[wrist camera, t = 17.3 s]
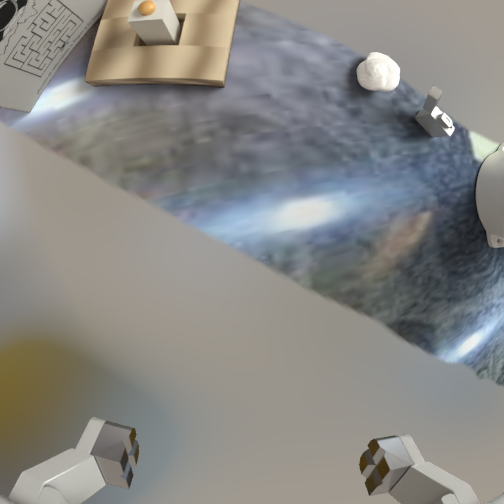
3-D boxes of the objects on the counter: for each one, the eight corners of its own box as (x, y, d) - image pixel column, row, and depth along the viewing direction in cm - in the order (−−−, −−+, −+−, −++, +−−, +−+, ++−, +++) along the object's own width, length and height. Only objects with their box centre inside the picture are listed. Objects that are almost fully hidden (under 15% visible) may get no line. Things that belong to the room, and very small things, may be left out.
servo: (181, 27, 30) (166, -5, 22) (176, 45, 31) (160, 16, 22) (152, 27, 30) (132, -3, 21) (147, 46, 30) (125, 18, 22)
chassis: (240, 0, 30) (240, -11, 27) (224, 87, 33) (222, 80, 30) (117, 3, 28) (110, -5, 26) (94, 86, 32) (84, 81, 29)
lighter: (437, 130, 35) (471, 126, 27) (432, 138, 35) (467, 135, 28) (405, 95, 34) (436, 83, 26) (399, 103, 34) (430, 92, 26)
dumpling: (379, 105, 34) (392, 99, 30) (347, 84, 33) (357, 76, 30) (396, 68, 33) (409, 60, 29) (365, 47, 32) (376, 38, 28)
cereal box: (91, -14, 27) (13, -92, 3) (119, -2, 28) (40, -96, 4) (9, 94, 31) (-105, 76, 7) (30, 113, 32) (-98, 99, 8)
